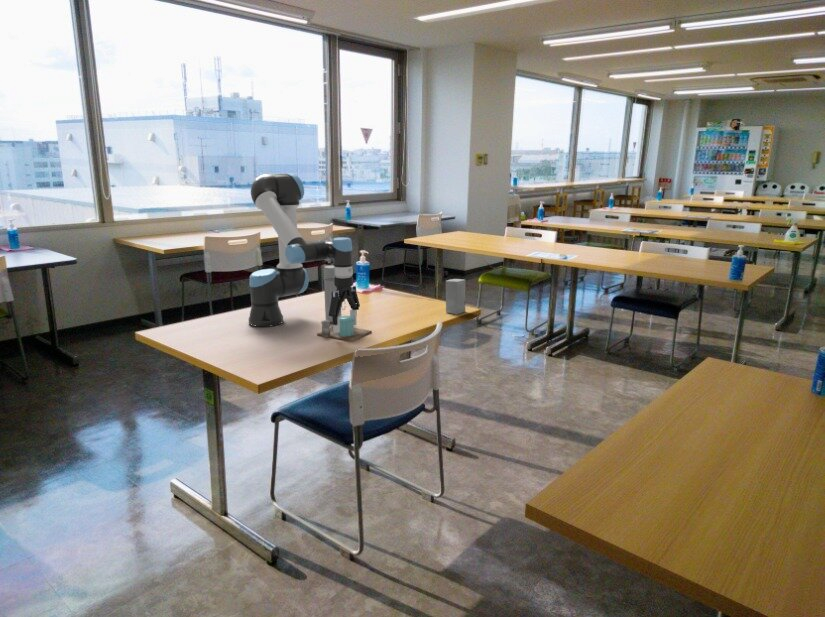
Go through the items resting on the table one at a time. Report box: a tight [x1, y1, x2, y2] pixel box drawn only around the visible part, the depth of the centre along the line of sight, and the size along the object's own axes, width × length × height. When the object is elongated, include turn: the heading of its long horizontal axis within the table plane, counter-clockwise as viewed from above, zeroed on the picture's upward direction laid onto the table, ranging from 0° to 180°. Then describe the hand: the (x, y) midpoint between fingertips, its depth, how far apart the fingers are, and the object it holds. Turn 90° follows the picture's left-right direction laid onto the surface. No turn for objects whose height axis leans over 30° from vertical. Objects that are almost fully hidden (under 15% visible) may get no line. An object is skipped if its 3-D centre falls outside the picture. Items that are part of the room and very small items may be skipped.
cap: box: [338, 315, 355, 336], centre depth 229 cm, size 6×6×7 cm
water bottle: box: [323, 264, 346, 324], centre depth 249 cm, size 9×8×25 cm
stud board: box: [316, 319, 373, 343], centre depth 232 cm, size 18×15×6 cm
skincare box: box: [445, 278, 466, 316], centre depth 264 cm, size 8×7×16 cm
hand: (345, 328), depth 230 cm, fingers open, 11 cm apart
